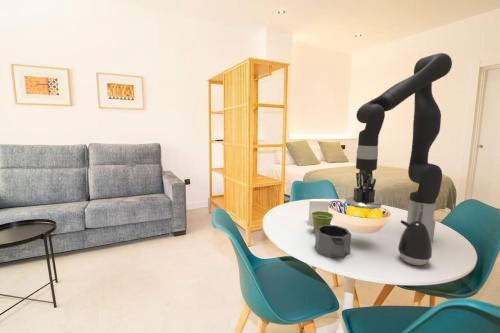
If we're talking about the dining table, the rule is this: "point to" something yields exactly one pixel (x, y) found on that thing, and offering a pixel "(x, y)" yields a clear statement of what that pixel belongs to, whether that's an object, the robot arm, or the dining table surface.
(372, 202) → the lid
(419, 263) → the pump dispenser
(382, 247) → the dining table surface
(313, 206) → the white tall block
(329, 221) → the plant pot
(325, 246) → the pot
